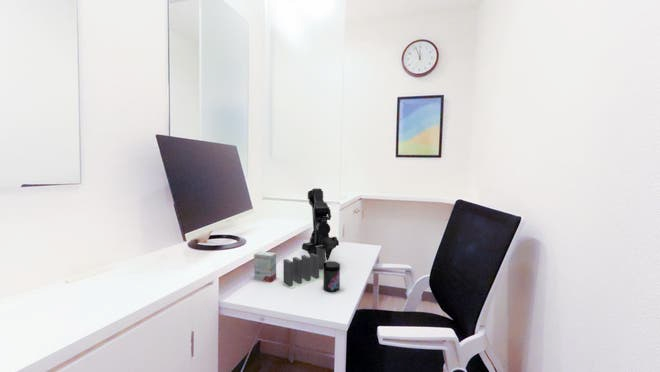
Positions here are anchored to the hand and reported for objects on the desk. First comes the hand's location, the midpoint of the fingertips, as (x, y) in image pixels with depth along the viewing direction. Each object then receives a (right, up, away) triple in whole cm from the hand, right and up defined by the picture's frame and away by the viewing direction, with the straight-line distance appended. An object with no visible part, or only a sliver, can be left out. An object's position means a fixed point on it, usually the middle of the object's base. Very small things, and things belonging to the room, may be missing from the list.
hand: (320, 261), depth 140 cm
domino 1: (-13, -4, -20) cm, 25 cm away
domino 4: (-2, -4, -12) cm, 13 cm away
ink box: (-24, -4, -15) cm, 28 cm away
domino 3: (-6, -4, -15) cm, 16 cm away
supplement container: (+5, -5, -24) cm, 25 cm away
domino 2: (-10, -4, -18) cm, 20 cm away
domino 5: (0, -3, 0) cm, 3 cm away
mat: (-4, -4, -14) cm, 15 cm away
